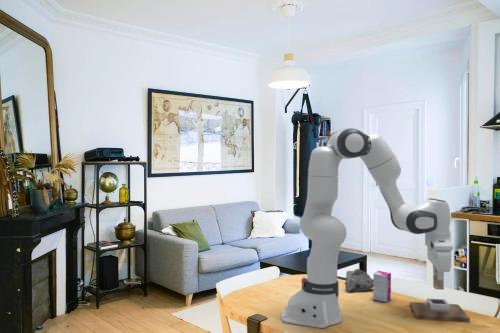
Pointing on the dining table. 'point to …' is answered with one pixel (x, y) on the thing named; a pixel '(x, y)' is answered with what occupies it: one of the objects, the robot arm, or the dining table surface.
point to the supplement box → (381, 286)
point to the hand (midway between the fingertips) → (438, 277)
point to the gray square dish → (438, 305)
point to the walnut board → (424, 313)
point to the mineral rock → (358, 281)
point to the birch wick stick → (437, 283)
